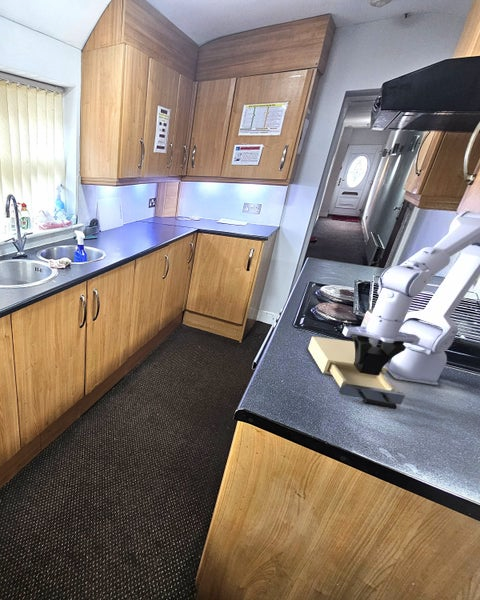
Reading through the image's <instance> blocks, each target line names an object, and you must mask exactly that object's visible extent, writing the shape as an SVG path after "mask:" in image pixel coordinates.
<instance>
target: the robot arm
mask: <svg viewBox="0 0 480 600" xmlns="http://www.w3.org/2000/svg"><path fill="white" fill-rule="evenodd" d="M459 252H461V254H460V256H459V257H458V258H457V260H456V262H455V263H454V265H453V266H452V268H451V269H450V270H449V272H448V274H447V275H446V276H445V278H444V279H443V281H442V282H441V284H440V285H439V287H438V288H437V290H436V291H435V292H434V294H433V295H432V297H431V298H430V300H429V302H428V303H427V304H426V306H424V307H425V308H423V309H421V310H415V311H414V310H413V311H409V310H410V308H411V305H412V303H413V301H414V298H415V297H417V296H418V295H420V294H421V293H422V292H423V291H424V290H425V289H426V288H427V286H428V284H430V282H431V281H432V278H433V277H434V276H435V275H437V274H438V273H439V272H441V271H443V269H445V268H446V267H448V266H449V265H450V263H451V257H452V256H454V255H455V254H458V253H459ZM479 276H480V212H476V211H475V212H474V211H470V210H465V211H462V212H460V213H459V214H457V216H456V217H455V218H454V219H453V220H452V221H451V223H450V226H449V230H448V233H447V234H446V235H444V237H442V239H440V240H439V241H438V242H437V243H436V244H435V245H433V246H427V247H424V248H422V249H419V251H418V252H416V253H415V254H413V255H412V256H410V257H409V258H407V259H406V260H405V261H404V262H402V263H401V264H399V265H397V264H396V265H393V266H392V265H391V266H389V267H387V268H386V269H384V270H383V272H382V273H381V275H380V277H379V278H378V282H377V284H378V289H377V292H376V293H377V295H378V296H377V297H378V298H377V300H376V302H375V305H374V307H373V309H374V310H373V313H372V315H371V318H370V320H369V323H368V325H367V326H366V327H361V326H346V325H345V326H344V327H343V330H342V334H343V335H344V337H347V338H350V337H352V340H353V342H354V345H355V361H356V363H357V364H361V363H362V362H363V360H364V358H365V355H366V353H367V352H368V350H369V349H370V348H371V347H372V345H371V343H370V342H369V341H370V340H369V338H371V339H379V341H381V345H380V348H381V349H382V350H383V351H384V352H385V353H386V354H387V355H388V356H387V358H386V361H385V363H384V365H385V366H386V368H387V372H388V373H389V374H390V375H391V377H393V378H394V379H395V380H400V381H407V382H414V383H420V384H426V385H434V386H438V385H439V382H438V381H439V378H440V376H441V374H442V373H443V372H444V371H443V370H444V369H445V367H446V366H447V361H448V357H447V354H446V351H447V350H448V349H450V347H451V346H452V344H453V342H454V341H455V338H456V336H457V334H458V332H459V328H458V326H457V325H456V323H455V322H454V321H453V320H452V317H451V316H452V314H453V313H454V312H455V311H456V310H457V308H458V306H459V304H460V303H461V302H462V300H463V299H464V298H465V297H466V295H467V293H468V292H469V290H470V289H471V287H473V285H474V284H475V282H476V281H477V279H478V278H479ZM429 323H430V324H429ZM437 326H438V327H437ZM384 365H383V367H384Z"/></svg>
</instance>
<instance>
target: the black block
mask: <svg viewBox="0 0 480 600" xmlns="http://www.w3.org/2000/svg"><path fill="white" fill-rule="evenodd" d="M387 356H388V355H387V354H386V353H385V352H384V351H383V350H382V349H381V346H380V347H379V346H377V347H373V346H372V347H371V348H370V349H369V350H368V352H367V353H366V355H365V358H364V360H363V362H362V363H361V364H357V363H356V361H354V366H355V367H356V368H357V370H358V371H359V372H360V373H364V374H370V375H377V376H379V374H380V372H381V370H382V368H383V365H384V363H385V361H386V358H387Z"/></svg>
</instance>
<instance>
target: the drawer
mask: <svg viewBox="0 0 480 600" xmlns="http://www.w3.org/2000/svg"><path fill="white" fill-rule="evenodd" d="M328 369H329V371H330V372H331V374H332V375H331V376H332V377H333V379H334V380H335V382H336V383H337V385H338V387H339V390H338V392H339V394H340V395H342V396H348V397H354V398H358V399H359V398H360V399H362V403H363V404H364V405H366V406H372V407H373V406H374V407H377V408H385V409H389V410H390V409H391V410H397V408H398V405H400V406H401V405H402V403H403V401H404V399H405V397H406V394H404V392H402V391H396V388H395V386H393V384H392V383H391V382H390V381H389V380H388V378H386V376H385V375H383V374H382V373H381V372H380V374H379V376H377V375H370V374H364V373H360V372H359V371H358V370H357V368H356V367H355V366H349V365H342V364H336V363H330V365H329V367H328Z"/></svg>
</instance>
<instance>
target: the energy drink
mask: <svg viewBox="0 0 480 600" xmlns="http://www.w3.org/2000/svg"><path fill="white" fill-rule="evenodd" d="M373 310H374V308H371V309H367V311H366V312H365V314H364V316H363V320H362V322H361V325H360V327H366V326H367V325H368V323H369V320H370V318H371V315H372V313H373ZM369 340H370V341H369V342H370V343H371V345H372V346H373V347H378V344H379V341H380V340H379V339H371V338H369Z"/></svg>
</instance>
